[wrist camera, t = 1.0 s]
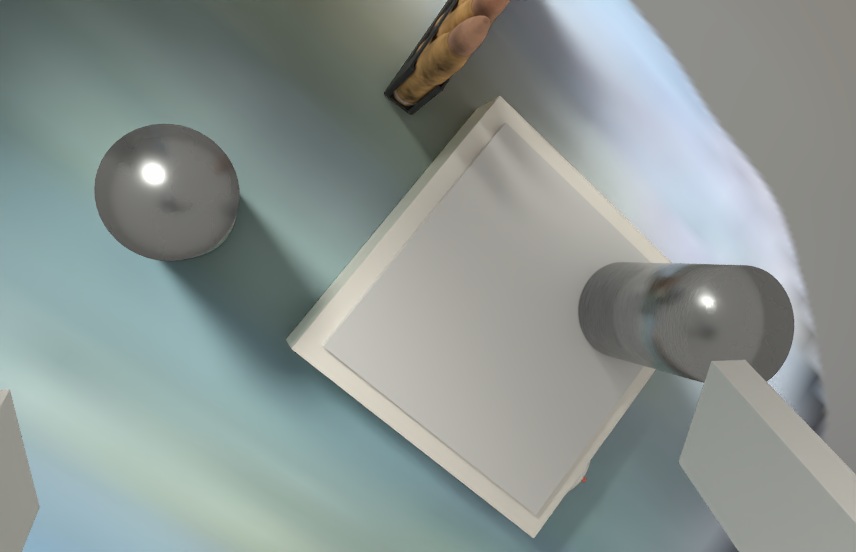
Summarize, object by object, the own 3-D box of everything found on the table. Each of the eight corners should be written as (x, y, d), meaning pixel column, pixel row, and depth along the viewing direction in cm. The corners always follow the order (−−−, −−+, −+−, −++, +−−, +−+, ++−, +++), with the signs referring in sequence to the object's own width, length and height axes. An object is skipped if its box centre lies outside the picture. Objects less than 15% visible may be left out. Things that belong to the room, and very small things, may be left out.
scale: (285, 339, 36) (292, 350, 32) (476, 109, 38) (503, 93, 34) (515, 520, 40) (545, 548, 36) (676, 300, 42) (720, 305, 38)
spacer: (105, 212, 33) (63, 199, 25) (176, 134, 34) (158, 95, 26) (191, 278, 35) (178, 288, 26) (257, 202, 35) (267, 186, 27)
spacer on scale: (559, 317, 36) (665, 338, 27) (617, 242, 36) (737, 239, 28) (625, 376, 37) (747, 415, 28) (680, 302, 38) (814, 318, 29)
